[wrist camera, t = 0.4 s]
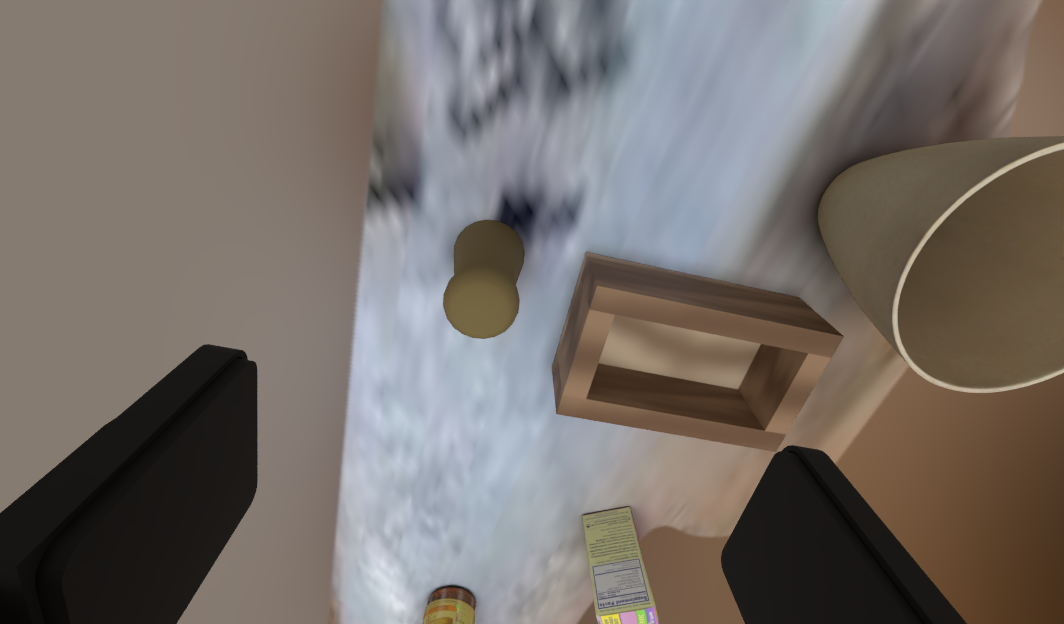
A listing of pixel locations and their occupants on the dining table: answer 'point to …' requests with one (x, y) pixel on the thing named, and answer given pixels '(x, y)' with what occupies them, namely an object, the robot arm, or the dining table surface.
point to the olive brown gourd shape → (484, 280)
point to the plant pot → (958, 257)
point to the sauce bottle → (450, 607)
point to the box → (618, 569)
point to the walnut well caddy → (687, 354)
